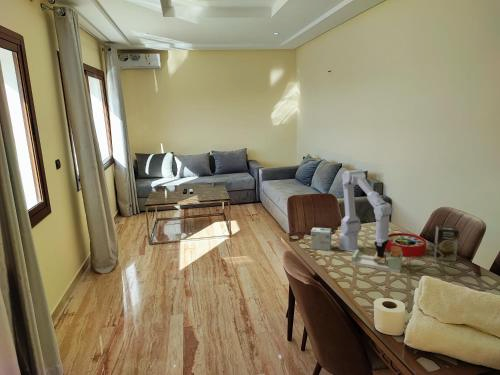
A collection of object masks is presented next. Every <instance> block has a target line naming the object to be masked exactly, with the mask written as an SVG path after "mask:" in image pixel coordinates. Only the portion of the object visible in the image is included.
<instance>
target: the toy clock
mask: <svg viewBox="0 0 500 375" xmlns="http://www.w3.org/2000/svg"><path fill="white" fill-rule="evenodd" d="M388 237H391V240H389V241H388V243H387V246H386V248H385V251H386V252H388V253H389V254H390V253H391V247H392V246H398V247H401V248H402V251H401V252H403V254H402V258H417V257H421V256H424V255H425V254H426V253H427V252H426V251H427V239H425V238H424V237H422V236H420V235H417V234H412V233H407V232H393V233H388Z"/></svg>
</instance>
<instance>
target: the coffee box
mask: <svg viewBox="0 0 500 375" xmlns="http://www.w3.org/2000/svg"><path fill="white" fill-rule="evenodd" d="M434 235H435V236H434V244H433V245H434V247H433V257H434V259H435V260H438V261H449V262H456V261H457V254H458V244H459V237H460V236H459V235H460V230H459V229H458V228H457V226H450V225H436V226H435V234H434Z"/></svg>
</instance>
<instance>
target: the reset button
mask: <svg viewBox="0 0 500 375" xmlns="http://www.w3.org/2000/svg"><path fill="white" fill-rule="evenodd" d="M391 251H392V256H394V257H399V254H400V252H401V251H402V248H401V247H398V246H392V247H391Z"/></svg>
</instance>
